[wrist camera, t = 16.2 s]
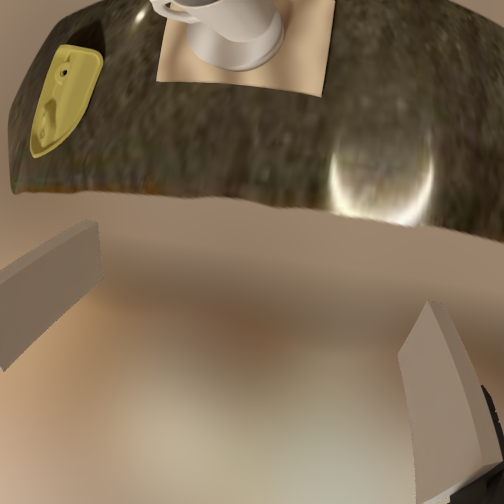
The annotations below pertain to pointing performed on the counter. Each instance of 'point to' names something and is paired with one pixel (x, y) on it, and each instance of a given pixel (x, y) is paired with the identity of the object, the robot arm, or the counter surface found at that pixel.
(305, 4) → the board with round cheese
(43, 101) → the plastic component
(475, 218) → the counter surface
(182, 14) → the mug
